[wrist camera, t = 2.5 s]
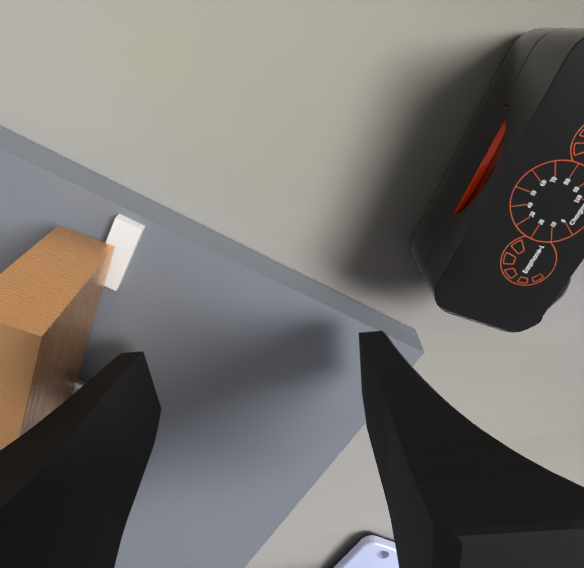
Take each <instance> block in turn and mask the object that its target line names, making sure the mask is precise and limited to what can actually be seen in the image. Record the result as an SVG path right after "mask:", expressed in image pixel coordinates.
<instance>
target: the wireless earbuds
mask: <svg viewBox="0 0 584 568" xmlns="http://www.w3.org/2000/svg"><path fill="white" fill-rule="evenodd" d="M411 250H412V254H413V257H414V259H415V261H416V263H417V265H418V267H419V269H420V271H421V273H422V275H423V277H424V279H425V281H426V283H427V285H428V287H429V289H430V291H431V293H432V295H433V297H434V299H435V301H436V303H437V305H438V306H439V307H440V308H441V309H442V310H443V311H445V312H447V313H450V314H453V315H456V316H459V317H462V318H465V319H468V320H471V321H474V322H477V323H480V324H484V325H487V326H490V327H493V328H496V329H499V330H502V331H506V332H521V331H523V330H526V329H529V328H530V327H532V326H535V325H537V324H538V323H539V322H540V321H541V320H542V317H543V315H544V314H545V312H546V311H547V309H548V308H550V307H551V306H552V305H553V304H554V303H555V302H557V301H558V300H559V299H560V298H561V297H562V296H563V295H564V294H565V293H566V291H567V289H568V287H569V284H570V281H571V276H572V274H573V273H574V272H575V270H576V269H577V267H578V266H579V264H580V263H581V262H582V260H583V259H584V28H539V29H533V30H531V31H528V32H526V33H524V34H522V35H521V36H520V37H519V38H518V39H517V40H516V41H515V42H514V43H513V45H512V46H511V48H510V49H509V51H508V53H507V55H506V57H505V59H504V61H503V63H502V65H501V67H500V69H499V71H498V73H497V75H496V77H495V78H494V80H493V82H492V84H491V86H490V88H489V90H488V92H487V94H486V96H485V98H484V100H483V102H482V104H481V106H480V108H479V110H478V112H477V114H476V116H475V117H474V119H473V121H472V123H471V125H470V127H469V129H468V131H467V133H466V135H465V137H464V139H463V141H462V143H461V145H460V147H459V149H458V151H457V153H456V155H455V156H454V158H453V160H452V162H451V164H450V166H449V168H448V170H447V172H446V174H445V176H444V178H443V180H442V182H441V184H440V186H439V188H438V190H437V192H436V194H435V195H434V197H433V199H432V201H431V203H430V205H429V207H428V209H427V211H426V213H425V215H424V217H423V219H422V221H421V223H420V225H419V227H418V229H417V231H416V233H415V234H414V236H413V239H412V242H411Z"/></svg>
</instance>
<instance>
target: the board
mask: <svg viewBox="0 0 584 568" xmlns="http://www.w3.org/2000/svg"><path fill="white" fill-rule="evenodd" d="M58 225H59V226H62V227H64V228H67V229H70V230H72V231H75V232H78V233H80V234H83V235H86V236H88V237H91V238H94V239H96V240H99V241H102V242H104V243H107V244H110V245H112V246H115V249H114V253H113V256H112V260H111V263H110V267H109V270H108V274H107V277H106V281H105V284H104V288H103V292H102V295H101V299H100V302H99V306H98V309H97V313H96V316H95V320H94V323H93V327H92V330H91V334H90V337H89V341H88V344H87V348H86V351H85V355H84V359H83V362H82V366H81V369H80V373H79V376H80V377H82V378H84V379H87V380H88V381H89V380H90V379H91V378H92V377H93V376H95V375H96V374H97V373H98V372H99V371H100V370H101V369H103V368H104V367H105V366H106V365H107V364H108V363H110V362H111V361H112V360H113V359H114V358H116V357H117V356H118V355H120V354H121V353H128V352H140V351H144V355H145V358H146V361H147V364H148V367H149V371H150V374H151V377H152V380H153V383H154V387H155V390H156V393H157V396H158V399H159V403H160V406H161V414H160V419H159V425H158V430H157V434H156V439H155V443H154V446H153V449H152V452H151V455H150V458H149V461H148V464H147V466H146V469H145V472H144V475H143V478H142V481H141V483H140V486H139V489H138V492H137V494H136V497H135V500H134V503H133V506H132V508H131V511H130V514H129V517H128V520H127V523H126V526H125V529H124V532H123V535H122V539H121V543H120V547H119V551H118V555H117V559H116V563H115V567H114V568H244V567H245V566H246V565H247V564H248V562H249V561H250V560H251V559H252V558H253V556H254V555H255V554H256V553H257V552H258V550H259V549H260V548H261V547H262V546H263V544H264V543H265V542H266V541H267V540H268V539H269V537H270V536H271V535H272V534H273V533H274V531H275V530H276V529H277V528H278V527H279V525H280V524H281V523H282V522H283V521H284V519H285V518H286V517H287V516H288V515H289V513H290V512H291V511H292V510H293V509H294V507H295V506H296V505H297V504H298V503H299V501H300V500H301V499H302V498H303V497H304V495H305V494H306V493H307V492H308V491H309V490H310V488H311V487H312V486H313V485H314V484H315V482H316V481H317V480H318V479H319V478H320V476H321V475H322V474H323V473H324V472H325V470H326V469H327V468H328V467H329V466H330V464H331V463H332V462H333V461H334V460H335V458H336V457H337V456H338V455H339V454H340V452H341V451H342V450H343V449H344V448H345V447H346V445H347V444H348V443H349V442H350V441H351V439H352V438H353V437H354V436H355V435H356V433H357V432H358V431H359V430H360V429H361V427H362V426H363V425H364V424H365V423H366V418H365V411H364V404H363V397H362V386H361V368H360V349H359V333H360V332H371V331H383V332H384V333H386V334H387V336H388V337H389V339H390V340H391V342H392V343H393V344H394V346H395V347H396V348H397V349H398V351H399V352H400V353H401V354H402V356H403V357H404V358H405V359H406V360H407V362H408V363H409V364H410V365H411V366H413V365H414V364H415V363H416V362H417V360H418V359H419V358H420V357H421V356H422V354H423V353H424V351H423V348H422V346H421V343H420V341H419V338H418V336H417V333H416V330H415V329H413V328H411V327H408V326H406V325H404V324H402V323H400V322H398V321H396V320H394V319H392V318H390V317H388V316H386V315H384V314H382V313H380V312H378V311H376V310H374V309H372V308H370V307H368V306H366V305H364V304H362V303H360V302H358V301H356V300H354V299H352V298H350V297H348V296H345V295H343V294H341V293H339V292H337V291H335V290H333V289H331V288H329V287H327V286H325V285H323V284H321V283H319V282H317V281H315V280H313V279H311V278H309V277H307V276H305V275H303V274H301V273H299V272H297V271H295V270H293V269H291V268H289V267H287V266H284V265H282V264H280V263H278V262H276V261H274V260H272V259H270V258H268V257H266V256H264V255H262V254H260V253H258V252H256V251H254V250H252V249H250V248H248V247H246V246H244V245H242V244H240V243H238V242H236V241H234V240H232V239H230V238H228V237H226V236H224V235H221V234H219V233H217V232H215V231H213V230H211V229H209V228H207V227H205V226H203V225H201V224H199V223H197V222H195V221H193V220H191V219H189V218H187V217H185V216H183V215H181V214H179V213H177V212H175V211H173V210H171V209H169V208H167V207H165V206H163V205H160V204H158V203H156V202H154V201H152V200H150V199H148V198H146V197H144V196H142V195H140V194H138V193H136V192H134V191H132V190H130V189H128V188H126V187H124V186H122V185H120V184H118V183H116V182H114V181H112V180H110V179H108V178H106V177H104V176H102V175H100V174H97V173H95V172H93V171H91V170H89V169H87V168H85V167H83V166H81V165H79V164H77V163H75V162H73V161H71V160H69V159H67V158H65V157H63V156H61V155H59V154H57V153H55V152H53V151H51V150H49V149H47V148H45V147H43V146H41V145H39V144H36V143H34V142H32V141H30V140H28V139H26V138H24V137H22V136H20V135H18V134H16V133H14V132H12V131H10V130H8V129H6V128H4V127H2V126H0V274H1V273H2V272H3V271H5V270H6V269H7V268H8V267H9V266H10V265H12V264H13V263H14V262H15V261H16V260H18V259H19V258H20V257H21V256H22V255H24V254H25V253H26V252H27V251H28V250H29V249H31V248H32V247H33V246H34V245H35V244H37V243H38V242H39V241H40V240H41V239H43V238H44V237H45V236H46V235H47V234H48V233H50V232H51V231H52V230H53V229H54V228H56V227H57V226H58Z"/></svg>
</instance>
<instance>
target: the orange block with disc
mask: <svg viewBox="0 0 584 568" xmlns="http://www.w3.org/2000/svg"><path fill="white" fill-rule="evenodd" d="M114 249H115V246H112V245H110V244H107V243H104V242H102V241H99V240H96V239H94V238H91V237H88V236H86V235H83V234H80V233H78V232H75V231H72V230H70V229H67V228H64V227H62V226H59V225H58V226H57V227H56V228H54V229H53V230H52V231H51V232H50V233H48V234H47V235H46V236H45V237H44V238H43V239H41V240H40V241H39V242H38V243H37V244H35V245H34V246H33V247H32V248H31V249H29V250H28V251H27V252H26V253H25V254H24V255H22V256H21V257H20V258H19V259H18V260H16V261H15V262H14V263H13V264H12V265H10V266H9V267H8V268H7V269H6V270H5V271H3V272H2V273H1V274H0V450H1V449H3V448H4V447H6V446H7V445H9V444H10V443H11V442H13V441H14V440H16V439H17V438H19V437H20V436H21V435H23V434H24V433H25V432H27V431H28V430H29V429H31V428H32V427H33V426H35V425H36V424H37V423H38V422H40V421H41V420H42V419H43V418H45V417H46V416H47V415H48V414H50V413H51V412H52V411H53V410H55V409H56V408H57V407H58V406H60V405H61V404H62V403H63V402H65V401H66V400H67V399H68V398H69V397H70V396H72V395H73V394H74V393H75V392H76V391H77V390H79V389H80V388H81V387H82V386H83V385H84V384H85V383H87V382H88V380H87V379H84V378H82V377H80V376H79V373H80V369H81V366H82V362H83V359H84V355H85V351H86V348H87V344H88V341H89V337H90V334H91V330H92V327H93V323H94V320H95V316H96V313H97V309H98V306H99V302H100V299H101V295H102V292H103V288H104V284H105V281H106V277H107V274H108V270H109V267H110V263H111V260H112V256H113V253H114Z"/></svg>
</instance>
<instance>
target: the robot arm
mask: <svg viewBox="0 0 584 568" xmlns="http://www.w3.org/2000/svg"><path fill="white" fill-rule="evenodd" d="M359 349H360V368H361V386H362V397H363V404H364V411H365V418H366V424H367V429H368V433H369V437H370V441H371V445H372V448H373V452H374V456H375V460H376V463H377V467H378V471H379V474H380V478H381V482H382V486H383V489H384V493H385V497H386V501H387V504H388V509H389V513H390V518H391V523H392V529H393V534H394V540H395V542H392V541H389V540H386V539H384V538H381V537H378V536H374V535H369V536H366V537H364V538H362V539H361V540H360V541H359V542H358V543H357V544H356V545H355V546H354V547H353V548H352V549H351V550H350V551H349V552H348V553H347V554H346V555H345V556H344V557H343V558H342V559H341V560H340V561H339V562H338V563H337V565H336V566H335V567H334V568H584V487H582V486H580V485H578V484H576V483H574V482H572V481H570V480H567V479H565V478H563V477H561V476H559V475H557V474H555V473H553V472H551V471H549V470H547V469H545V468H543V467H542V466H540V465H538V464H536V463H534V462H533V461H531V460H529V459H527V458H525V457H524V456H522V455H520V454H518V453H517V452H515V451H514V450H512V449H510V448H509V447H507V446H506V445H504V444H503V443H501V442H499V441H498V440H496V439H495V438H493V437H492V436H490V435H489V434H487V433H486V432H484V431H483V430H481V429H480V428H479V427H477V426H476V425H475V424H473V423H472V422H471V421H469V420H468V419H467V418H466V417H464V416H463V415H462V414H461V413H459V412H458V411H457V410H456V409H455V408H453V407H452V406H451V405H450V404H449V403H448V402H447V401H445V400H444V399H443V398H442V397H441V396H440V395H439V394H438V393H437V392H436V391H435V390H434V389H433V388H432V387H431V386H430V385H429V384H428V383H427V382H426V381H425V380H424V379H423V378H422V377H421V376H420V375H419V374H418V373H417V372H416V371H415V369H414V368H413V367H412V366H411V365H410V364H409V363H408V362H407V360H406V359H405V358H404V357H403V356H402V354H401V353H400V352H399V351H398V349H397V348H396V347H395V346H394V344H393V343H392V342H391V340H390V339H389V337H388V336H387V334H386V333H384V332H383V331H371V332H360V333H359ZM160 414H161V406H160V403H159V399H158V396H157V393H156V390H155V387H154V383H153V380H152V377H151V374H150V371H149V367H148V364H147V361H146V358H145V355H144V351H140V352H128V353H121V354H120V355H118V356H117V357H116V358H114V359H113V360H112V361H111V362H110V363H108V364H107V365H106V366H105V367H104V368H103V369H101V370H100V371H99V372H98V373H97V374H96V375H95V376H93V377H92V378H91V379H90V380H89V381H88V382H87V383H85V384H84V385H83V386H82V387H81V388H80V389H79V390H77V391H76V392H75V393H74V394H73V395H72V396H70V397H69V398H68V399H67V400H66V401H65V402H63V403H62V404H61V405H60V406H58V407H57V408H56V409H55V410H53V411H52V412H51V413H50V414H48V415H47V416H46V417H45V418H43V419H42V420H41V421H40V422H38V423H37V424H36V425H35V426H33V427H32V428H31V429H29V430H28V431H27V432H25V433H24V434H23V435H21V436H20V437H19V438H17V439H16V440H14V441H13V442H11V443H10V444H9V445H7V446H6V447H4V448H3V449H1V450H0V568H114V567H115V563H116V559H117V555H118V551H119V547H120V543H121V539H122V535H123V532H124V529H125V526H126V523H127V520H128V517H129V514H130V511H131V508H132V506H133V503H134V500H135V497H136V494H137V492H138V489H139V486H140V483H141V481H142V478H143V475H144V472H145V469H146V466H147V464H148V461H149V458H150V455H151V452H152V449H153V446H154V443H155V439H156V434H157V430H158V425H159V419H160Z"/></svg>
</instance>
